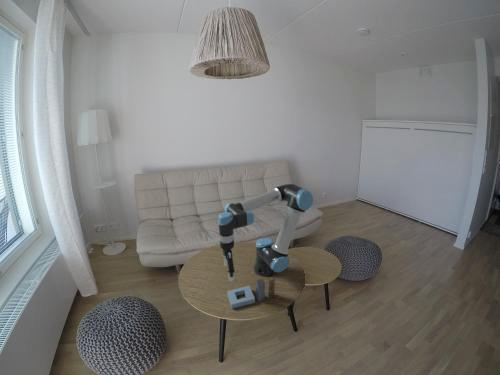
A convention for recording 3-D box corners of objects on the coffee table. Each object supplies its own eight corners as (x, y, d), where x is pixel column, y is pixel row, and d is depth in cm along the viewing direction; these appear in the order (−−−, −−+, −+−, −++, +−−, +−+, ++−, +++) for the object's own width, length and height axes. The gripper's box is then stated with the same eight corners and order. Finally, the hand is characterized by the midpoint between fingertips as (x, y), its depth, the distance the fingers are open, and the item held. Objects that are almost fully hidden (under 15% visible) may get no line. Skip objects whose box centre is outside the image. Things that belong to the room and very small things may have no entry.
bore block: (249, 289, 148) (249, 285, 147) (255, 302, 138) (255, 298, 137) (227, 294, 144) (227, 290, 143) (231, 308, 134) (231, 304, 133)
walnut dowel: (272, 293, 145) (273, 276, 141) (275, 297, 142) (275, 280, 138) (267, 294, 144) (267, 278, 140) (269, 298, 141) (269, 282, 137)
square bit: (262, 295, 144) (262, 279, 140) (264, 300, 140) (264, 283, 136) (256, 296, 142) (256, 280, 139) (258, 301, 139) (258, 285, 135)
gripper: (216, 230, 139) (218, 261, 146) (224, 254, 116) (226, 289, 123) (229, 228, 141) (230, 258, 148) (239, 251, 118) (240, 286, 125)
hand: (229, 272), depth 135 cm, fingers open, 13 cm apart
